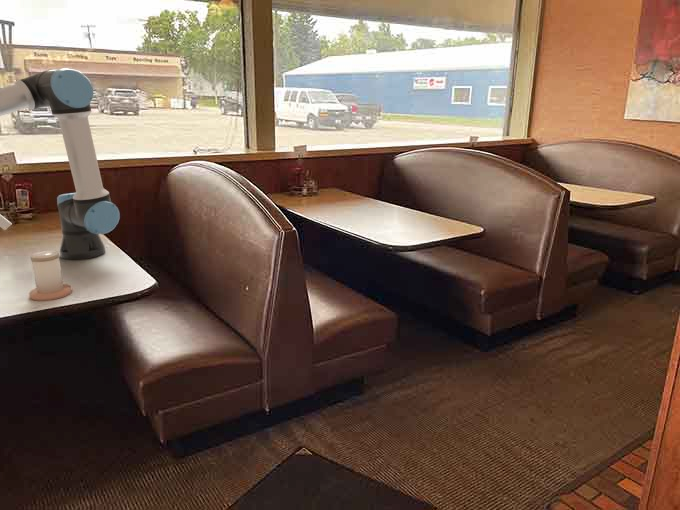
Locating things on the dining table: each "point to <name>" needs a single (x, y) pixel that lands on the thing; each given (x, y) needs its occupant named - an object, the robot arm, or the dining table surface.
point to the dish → (52, 296)
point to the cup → (47, 272)
